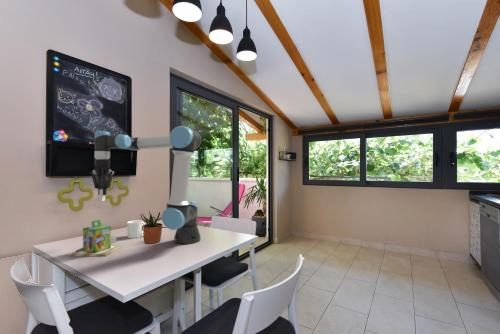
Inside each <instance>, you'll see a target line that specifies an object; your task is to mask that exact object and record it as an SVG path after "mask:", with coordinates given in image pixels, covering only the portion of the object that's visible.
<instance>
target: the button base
mask: <svg viewBox="0 0 500 334" xmlns="http://www.w3.org/2000/svg"><path fill="white" fill-rule="evenodd" d="M114 242H115V243H116V242H117V236H111V245H112V243H113V244H114Z"/></svg>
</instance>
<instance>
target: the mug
mask: <svg viewBox="0 0 500 334" xmlns="http://www.w3.org/2000/svg"><path fill="white" fill-rule="evenodd" d="M145 224H146V223H145V222H144V220H141V219H135V220H130V221H129V220H128V221H127V222H126V227H127V228H126V234H127V236H126V238H127V239H138V238H142V237H143V236H144V234H143V233H144V230H143V231H142V226H143V227H144V226H145Z"/></svg>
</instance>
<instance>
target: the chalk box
mask: <svg viewBox="0 0 500 334" xmlns="http://www.w3.org/2000/svg"><path fill="white" fill-rule="evenodd" d="M96 223H97V224H96ZM111 228H112V226H110V225H105V224H104V225H102V222H101V220H100V219H97V220H93V221H91V226H87V227H83V228H82V248H83V251H87V252H93V253H96V252H99V251H102V250H106V249H109V248H111V246H112V244H111V234H112V233H111V231H112V230H111Z"/></svg>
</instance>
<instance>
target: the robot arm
mask: <svg viewBox="0 0 500 334" xmlns="http://www.w3.org/2000/svg"><path fill="white" fill-rule="evenodd" d="M93 141H94V169H93V170H91V171H90V172H89V174H90V175H91V177H92V181H93V187H94V189H97V190H98V191H97V192H98V196H99V202H104V201H106V195H107V192H108V191H107V190H108V189H109V188H111V185H112V180H113V176H114V175H115V173H116V172H115V171H113V170H112V169H111V167H110V166H111V160H110V158H111V149H121V150H130V151H140V150H160V149H162V150H163V149H171V152H172V153H173V155H174V156H173V159H174V160H173V168H172V178H171V187H170V197H169V200H168V201H166V208H165V210H164V211H163V212H162V214H161V221H162V223H163V225H164V226H165V227H166V228H167V229H169V230H171V231H172V230H175V234H174V237H173V241H174V242H173V243H175V244H178V245H190V244H195V243H198V242H200V241H201V233H200V231H199V227H198V208H199V207H198V203H197V201H188V192H189V180H190V171H191V162H192V161H191V160H192V156H193V155H194V154H195V151H196V149H198V148H199V147H200V145H201V143H202V137H201V134H200V133H199V132H198V131H197V130H195V129H193V128H190V127H189V126H184V125H178V126H176V127H174V128H173V129H172V130H171V131H170V133H169V135H159V136H158V135H156V136H155V135H154V136H139V137H138V136H137V137H134V136H133V137H132V136H129V135H128V134H123V133H122V134H111V133H110V132H109V131H105V130H104V131H103V130H97V131H95V132H94V140H93Z"/></svg>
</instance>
